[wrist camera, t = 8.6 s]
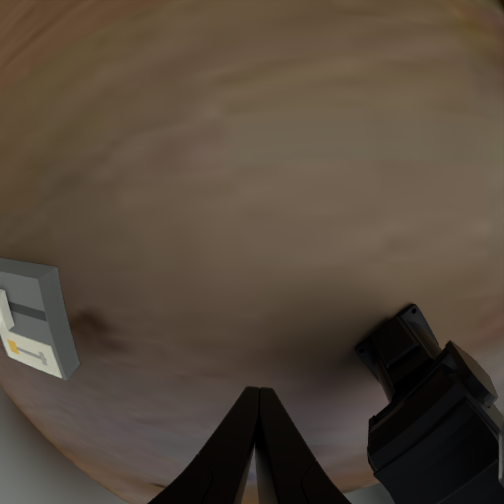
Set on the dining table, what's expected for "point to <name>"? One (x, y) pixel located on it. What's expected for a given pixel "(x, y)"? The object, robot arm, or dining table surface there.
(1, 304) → the slider knob
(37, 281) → the switch unit
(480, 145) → the dining table surface
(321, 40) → the dining table surface
